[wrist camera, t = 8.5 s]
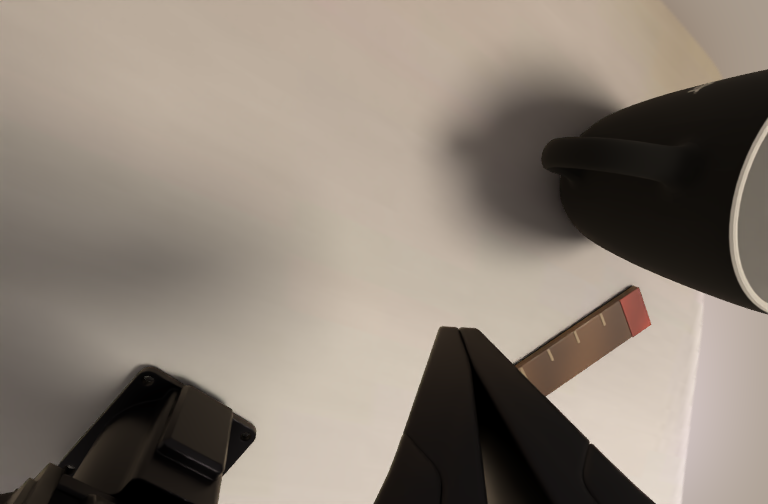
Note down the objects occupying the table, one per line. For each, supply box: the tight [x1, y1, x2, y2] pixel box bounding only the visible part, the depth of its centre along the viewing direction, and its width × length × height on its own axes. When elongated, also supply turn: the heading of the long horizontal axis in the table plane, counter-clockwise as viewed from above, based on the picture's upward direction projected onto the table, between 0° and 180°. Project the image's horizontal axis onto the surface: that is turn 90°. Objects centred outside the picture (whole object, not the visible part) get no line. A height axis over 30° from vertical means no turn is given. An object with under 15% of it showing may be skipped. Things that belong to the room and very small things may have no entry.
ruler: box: [515, 286, 651, 396], centre depth 25 cm, size 16×3×1 cm, turn 118°
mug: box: [541, 69, 768, 314], centre depth 18 cm, size 12×9×10 cm
